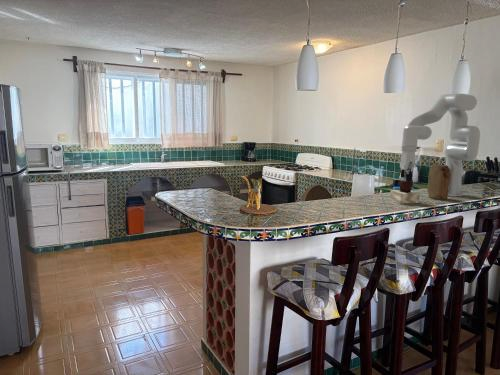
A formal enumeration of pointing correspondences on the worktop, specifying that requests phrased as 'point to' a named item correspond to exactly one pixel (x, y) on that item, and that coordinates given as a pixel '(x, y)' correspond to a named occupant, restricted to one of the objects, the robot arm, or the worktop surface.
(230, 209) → the worktop surface
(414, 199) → the maple block
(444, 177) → the block
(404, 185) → the mate gourd
